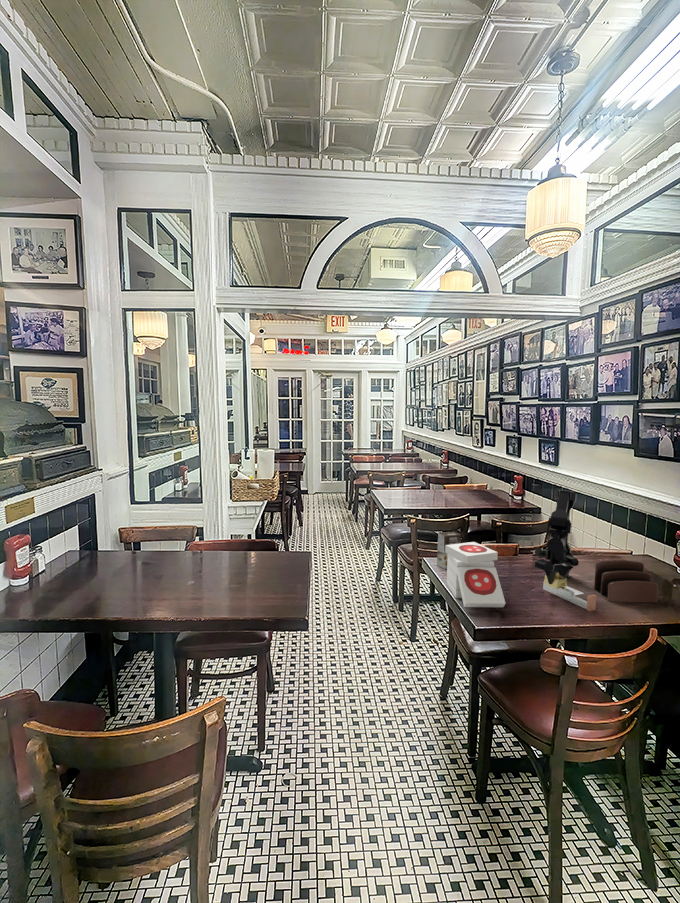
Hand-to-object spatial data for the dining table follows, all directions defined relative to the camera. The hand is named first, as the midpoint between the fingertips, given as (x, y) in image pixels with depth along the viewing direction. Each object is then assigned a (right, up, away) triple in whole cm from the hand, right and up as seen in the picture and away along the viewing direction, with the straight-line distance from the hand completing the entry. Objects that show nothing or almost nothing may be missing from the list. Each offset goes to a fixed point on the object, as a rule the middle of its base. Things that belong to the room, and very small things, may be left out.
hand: (555, 582), depth 177 cm
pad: (+6, -5, +3) cm, 8 cm away
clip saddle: (0, -1, 0) cm, 1 cm away
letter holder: (+27, -6, -2) cm, 28 cm away
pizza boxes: (-35, -5, -2) cm, 35 cm away
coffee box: (-36, -2, +32) cm, 48 cm away
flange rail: (-1, -5, -6) cm, 8 cm away
